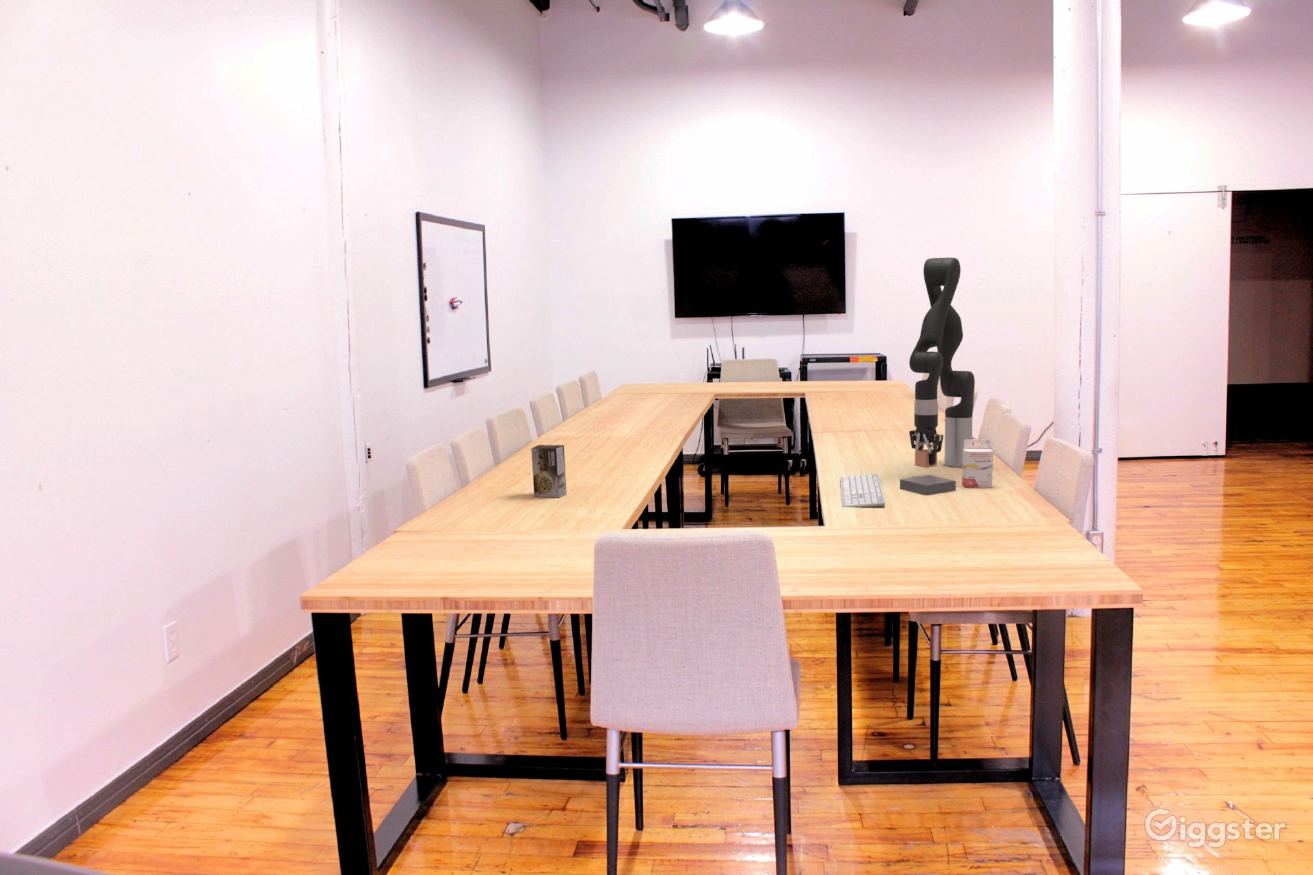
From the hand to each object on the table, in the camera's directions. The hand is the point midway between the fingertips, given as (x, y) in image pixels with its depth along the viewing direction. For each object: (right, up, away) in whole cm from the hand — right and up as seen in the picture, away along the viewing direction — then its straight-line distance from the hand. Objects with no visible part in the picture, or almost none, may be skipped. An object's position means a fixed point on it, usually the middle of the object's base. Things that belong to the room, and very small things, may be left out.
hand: (925, 463), depth 334 cm
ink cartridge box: (+13, -7, -13) cm, 20 cm away
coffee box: (-123, -10, -7) cm, 124 cm away
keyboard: (-25, -9, -16) cm, 31 cm away
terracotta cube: (0, -1, 0) cm, 1 cm away
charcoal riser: (-4, -8, -16) cm, 18 cm away
